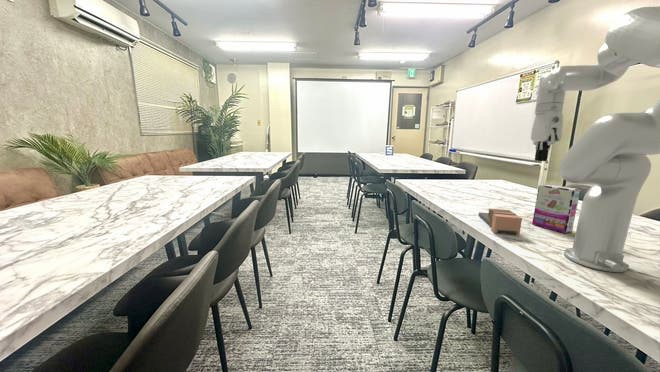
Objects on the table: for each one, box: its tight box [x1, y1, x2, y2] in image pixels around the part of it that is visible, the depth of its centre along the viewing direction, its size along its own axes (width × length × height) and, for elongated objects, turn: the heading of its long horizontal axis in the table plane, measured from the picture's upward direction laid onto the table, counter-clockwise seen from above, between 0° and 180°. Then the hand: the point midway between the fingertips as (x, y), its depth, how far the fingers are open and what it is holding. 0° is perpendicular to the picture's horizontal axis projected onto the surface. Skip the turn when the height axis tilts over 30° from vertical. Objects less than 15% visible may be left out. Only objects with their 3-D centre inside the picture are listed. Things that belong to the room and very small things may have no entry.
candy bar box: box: [532, 184, 581, 234], centre depth 97 cm, size 11×5×16 cm, turn 25°
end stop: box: [490, 214, 523, 237], centre depth 92 cm, size 3×8×6 cm, turn 76°
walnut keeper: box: [487, 208, 517, 224], centre depth 97 cm, size 6×7×5 cm
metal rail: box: [478, 212, 517, 236], centre depth 102 cm, size 22×6×2 cm, turn 166°
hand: (540, 160), depth 94 cm, fingers closed
